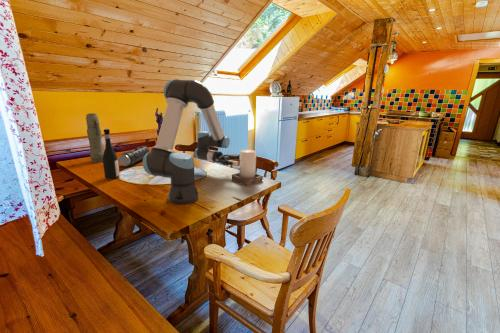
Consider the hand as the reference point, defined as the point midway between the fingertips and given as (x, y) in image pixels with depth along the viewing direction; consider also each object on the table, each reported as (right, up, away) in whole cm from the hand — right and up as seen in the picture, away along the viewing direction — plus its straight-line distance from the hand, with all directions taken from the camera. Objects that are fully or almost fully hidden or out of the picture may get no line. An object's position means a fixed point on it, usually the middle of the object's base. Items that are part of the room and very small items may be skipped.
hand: (243, 161), depth 160 cm
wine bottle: (-81, -10, -2) cm, 82 cm away
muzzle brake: (-82, -1, +30) cm, 87 cm away
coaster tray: (+2, -12, +2) cm, 12 cm away
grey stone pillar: (-110, +1, +31) cm, 114 cm away
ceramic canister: (+2, -11, +1) cm, 11 cm away
